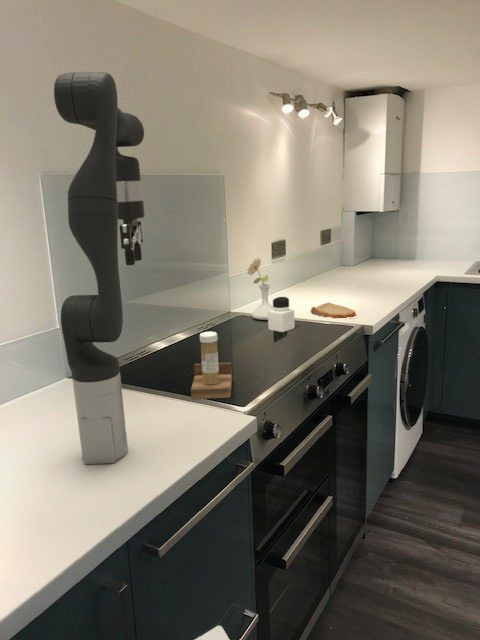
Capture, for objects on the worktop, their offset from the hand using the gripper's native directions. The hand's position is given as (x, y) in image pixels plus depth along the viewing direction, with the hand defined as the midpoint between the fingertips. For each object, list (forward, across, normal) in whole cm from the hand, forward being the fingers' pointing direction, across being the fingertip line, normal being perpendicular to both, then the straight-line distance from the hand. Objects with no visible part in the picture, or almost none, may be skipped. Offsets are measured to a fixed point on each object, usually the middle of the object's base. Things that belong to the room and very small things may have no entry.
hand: (134, 262), depth 142 cm
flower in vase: (+35, +72, -34) cm, 86 cm away
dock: (+34, -6, -19) cm, 39 cm away
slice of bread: (+35, +76, -62) cm, 104 cm away
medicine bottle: (+35, +55, -40) cm, 76 cm away
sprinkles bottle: (+32, -7, -19) cm, 38 cm away
